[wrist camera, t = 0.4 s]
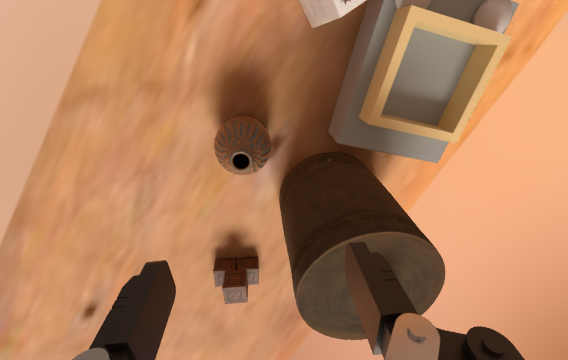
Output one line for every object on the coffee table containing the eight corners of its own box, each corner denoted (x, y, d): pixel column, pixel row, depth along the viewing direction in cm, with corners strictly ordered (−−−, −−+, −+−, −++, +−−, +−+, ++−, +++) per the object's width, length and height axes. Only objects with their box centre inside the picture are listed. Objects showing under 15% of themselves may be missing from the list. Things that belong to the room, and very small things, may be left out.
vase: (218, 108, 34) (207, 127, 26) (272, 113, 35) (276, 132, 27) (218, 158, 37) (208, 188, 29) (267, 162, 38) (270, 192, 30)
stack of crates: (201, 300, 50) (193, 336, 44) (190, 236, 43) (179, 267, 37) (281, 295, 51) (284, 329, 45) (282, 232, 45) (286, 262, 39)
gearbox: (375, -26, 29) (413, -49, 22) (482, 9, 32) (547, -2, 25) (327, 131, 37) (344, 151, 30) (417, 150, 39) (452, 172, 32)
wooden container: (326, 248, 46) (376, 397, 27) (259, 203, 41) (261, 346, 21) (392, 190, 42) (510, 315, 23) (327, 131, 37) (407, 227, 17)
